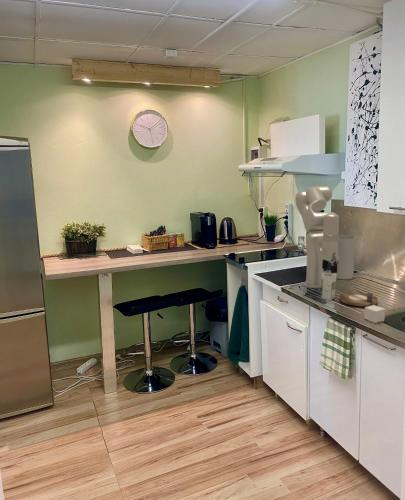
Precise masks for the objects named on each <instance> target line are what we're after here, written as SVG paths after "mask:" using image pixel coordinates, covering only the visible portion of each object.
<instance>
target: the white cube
mask: <svg viewBox="0 0 405 500" xmlns="http://www.w3.org/2000/svg"><path fill="white" fill-rule="evenodd" d="M385 315H386V309H385V308H384V307H381V306H378V305H376V304H375V305H372V306H364V317H363V319H364V318H365V319H368V320H370V321H374V322H378V321H383V322H385Z"/></svg>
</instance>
